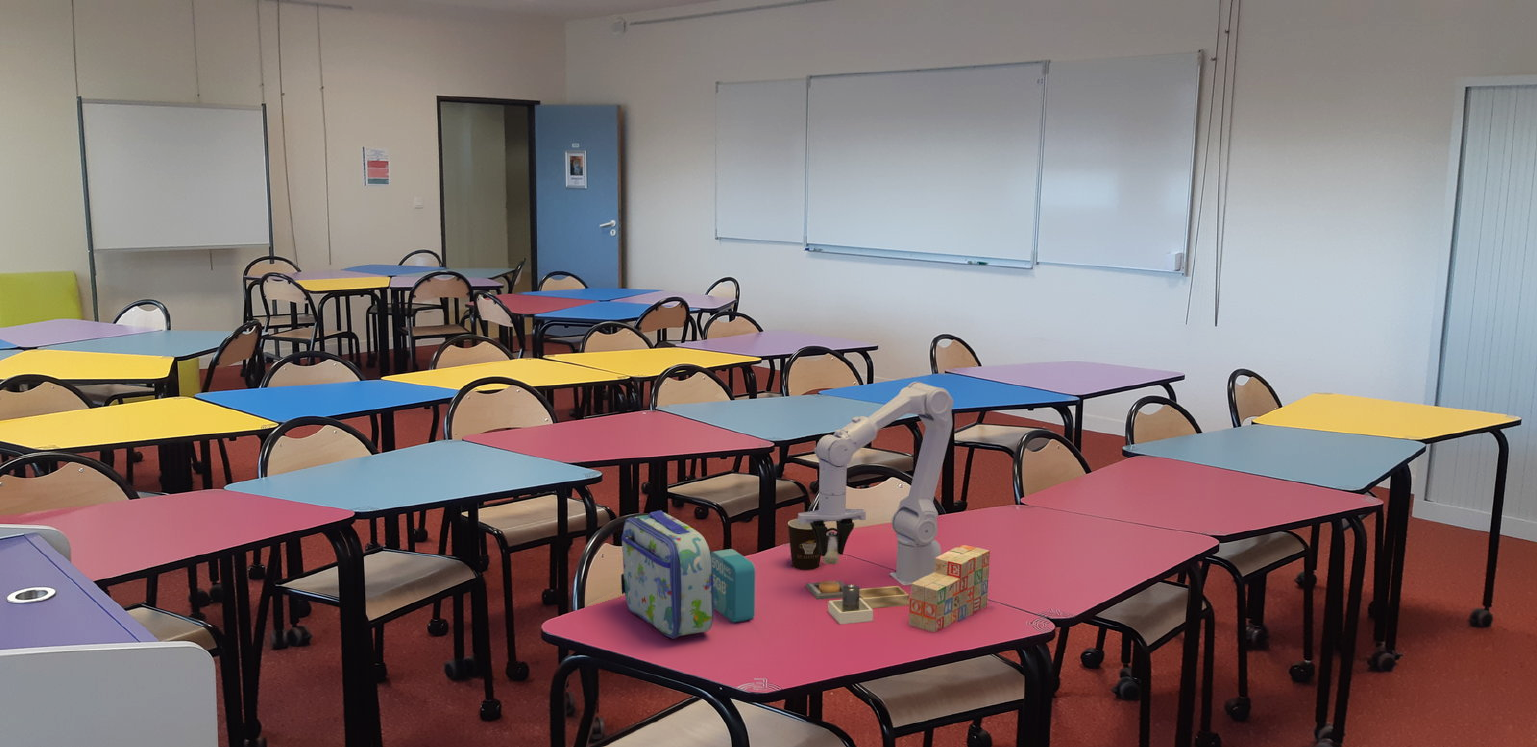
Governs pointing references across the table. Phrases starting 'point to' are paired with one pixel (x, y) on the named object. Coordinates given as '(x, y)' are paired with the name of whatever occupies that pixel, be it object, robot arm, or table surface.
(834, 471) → the robot arm
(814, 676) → the table surface
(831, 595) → the grey square frame
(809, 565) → the coffee mug
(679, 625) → the lunch box
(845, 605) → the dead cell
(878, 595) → the trough
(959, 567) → the stack of blocks
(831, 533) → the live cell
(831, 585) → the button
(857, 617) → the white square tray
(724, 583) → the data package
